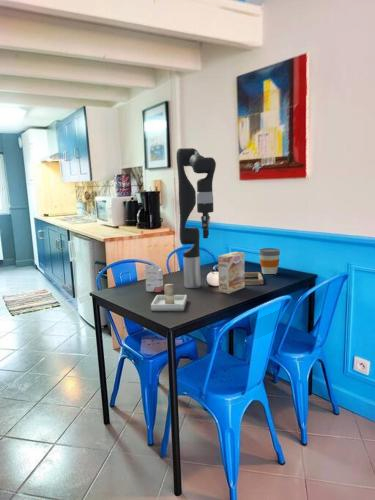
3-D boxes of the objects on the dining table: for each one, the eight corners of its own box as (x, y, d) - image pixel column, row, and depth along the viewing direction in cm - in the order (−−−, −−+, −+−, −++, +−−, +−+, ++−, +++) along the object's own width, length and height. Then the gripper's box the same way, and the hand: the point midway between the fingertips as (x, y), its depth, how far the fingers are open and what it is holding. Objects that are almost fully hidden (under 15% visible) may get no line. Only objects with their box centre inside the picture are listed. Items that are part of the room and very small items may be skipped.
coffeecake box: (229, 293, 194) (228, 257, 191) (218, 291, 199) (217, 255, 196) (245, 287, 205) (245, 252, 202) (234, 285, 210) (234, 251, 206)
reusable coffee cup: (255, 272, 238) (255, 249, 235) (271, 270, 243) (271, 247, 240) (267, 276, 226) (267, 252, 224) (284, 274, 232) (284, 250, 229)
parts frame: (228, 276, 230) (228, 272, 230) (260, 276, 228) (260, 272, 228) (228, 284, 211) (228, 280, 211) (263, 284, 209) (263, 280, 209)
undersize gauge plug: (165, 302, 181) (164, 284, 179) (174, 302, 180) (173, 283, 179) (164, 304, 176) (163, 286, 175) (173, 304, 176) (172, 286, 175)
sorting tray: (156, 300, 187) (156, 295, 186) (186, 300, 185) (186, 294, 185) (151, 310, 172) (150, 304, 171) (183, 310, 170) (183, 304, 170)
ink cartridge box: (163, 289, 206) (162, 263, 203) (160, 292, 201) (158, 265, 199) (149, 288, 209) (148, 263, 206) (145, 291, 204) (144, 265, 202)
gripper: (198, 201, 180) (199, 235, 182) (195, 203, 166) (196, 239, 168) (213, 201, 179) (214, 234, 182) (212, 202, 165) (213, 238, 168)
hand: (206, 236), depth 175 cm, fingers open, 8 cm apart
